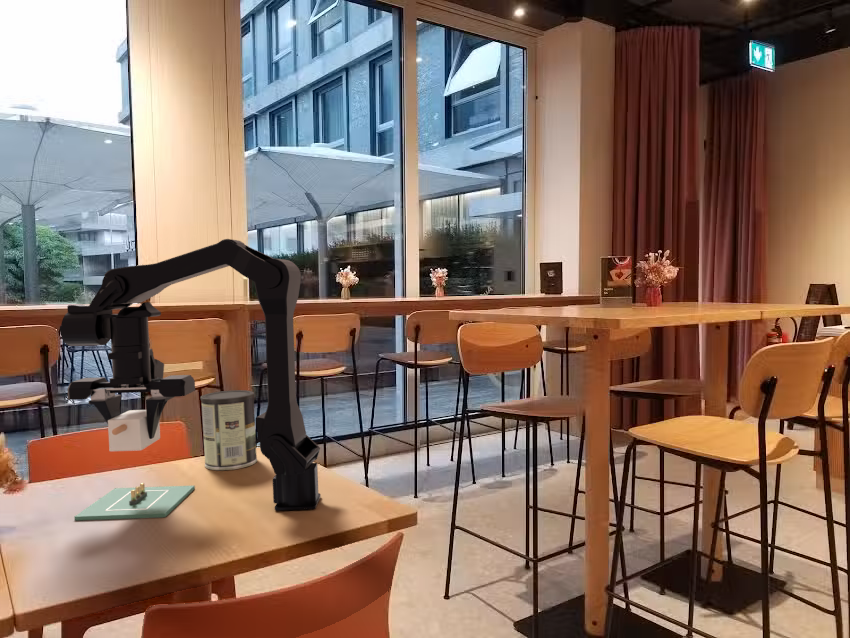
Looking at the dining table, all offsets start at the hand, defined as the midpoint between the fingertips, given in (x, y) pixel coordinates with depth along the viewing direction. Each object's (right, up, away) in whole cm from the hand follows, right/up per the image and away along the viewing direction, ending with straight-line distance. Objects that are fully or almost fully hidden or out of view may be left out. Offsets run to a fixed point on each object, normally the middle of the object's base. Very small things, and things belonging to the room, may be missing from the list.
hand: (135, 438), depth 108 cm
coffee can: (+9, -10, +24) cm, 27 cm away
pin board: (0, -11, +1) cm, 11 cm away
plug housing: (0, -1, -2) cm, 2 cm away
